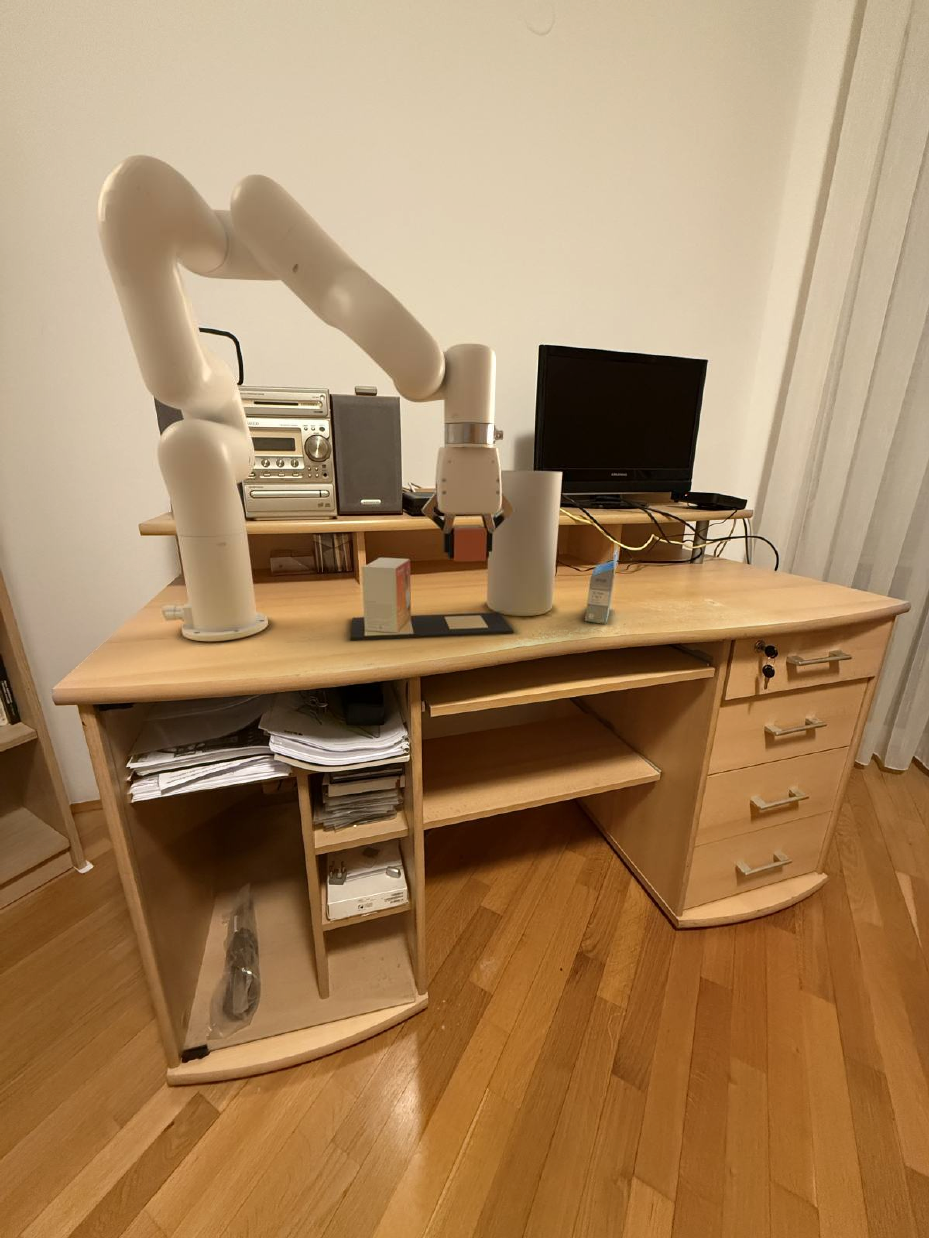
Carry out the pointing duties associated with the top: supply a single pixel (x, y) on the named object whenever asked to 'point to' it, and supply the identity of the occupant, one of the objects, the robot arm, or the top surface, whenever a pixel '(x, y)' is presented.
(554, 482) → the cylinder vase
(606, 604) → the label tape box
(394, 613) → the small box
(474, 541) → the red block
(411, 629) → the mat
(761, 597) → the top surface
